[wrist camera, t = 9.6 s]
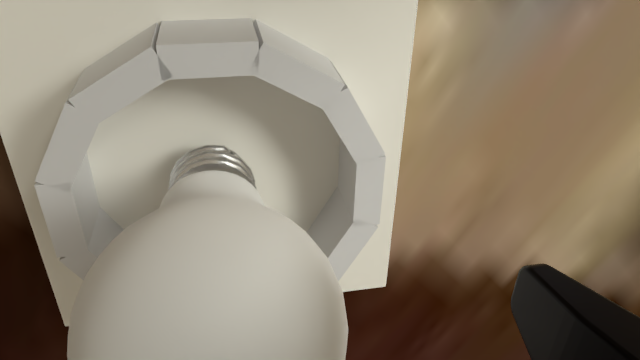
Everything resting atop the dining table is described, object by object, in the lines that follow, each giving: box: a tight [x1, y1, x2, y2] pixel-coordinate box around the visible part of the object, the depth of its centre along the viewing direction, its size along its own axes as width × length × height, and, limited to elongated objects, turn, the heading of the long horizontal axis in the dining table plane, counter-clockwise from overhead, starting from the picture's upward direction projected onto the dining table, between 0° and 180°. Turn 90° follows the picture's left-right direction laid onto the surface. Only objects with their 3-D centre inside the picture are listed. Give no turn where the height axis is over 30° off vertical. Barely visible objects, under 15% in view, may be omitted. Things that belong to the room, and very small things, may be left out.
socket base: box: [0, 0, 418, 327], centre depth 19 cm, size 14×14×4 cm
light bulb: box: [67, 145, 348, 360], centre depth 15 cm, size 7×7×11 cm
